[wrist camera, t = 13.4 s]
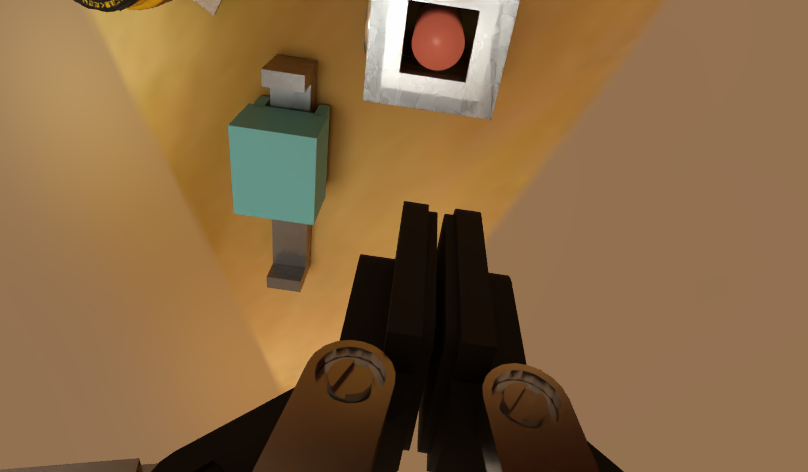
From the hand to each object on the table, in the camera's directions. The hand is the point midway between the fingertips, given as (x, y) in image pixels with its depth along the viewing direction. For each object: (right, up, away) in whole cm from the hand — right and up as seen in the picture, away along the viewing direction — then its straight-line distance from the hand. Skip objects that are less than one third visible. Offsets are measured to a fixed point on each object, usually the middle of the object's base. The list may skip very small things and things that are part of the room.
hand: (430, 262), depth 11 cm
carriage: (-9, +8, +30) cm, 33 cm away
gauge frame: (+2, +16, +24) cm, 29 cm away
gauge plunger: (+2, +14, +22) cm, 26 cm away
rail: (-10, +6, +32) cm, 34 cm away
